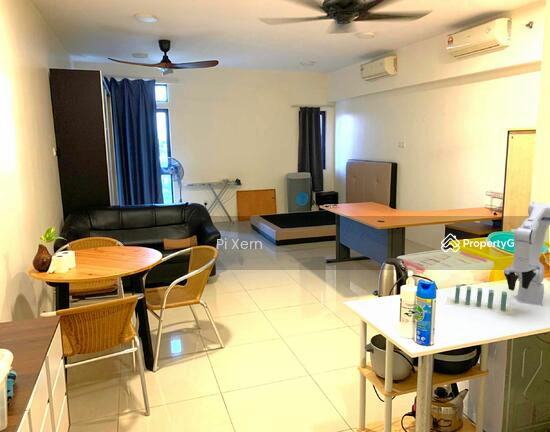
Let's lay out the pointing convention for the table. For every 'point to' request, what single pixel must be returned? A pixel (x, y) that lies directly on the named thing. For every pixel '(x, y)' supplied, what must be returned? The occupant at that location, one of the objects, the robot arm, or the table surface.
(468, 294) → the muted teal oblong block
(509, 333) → the table surface
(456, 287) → the tile
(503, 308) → the teal green rectangular block
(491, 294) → the tile
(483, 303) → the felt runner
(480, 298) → the teal rectangular block
